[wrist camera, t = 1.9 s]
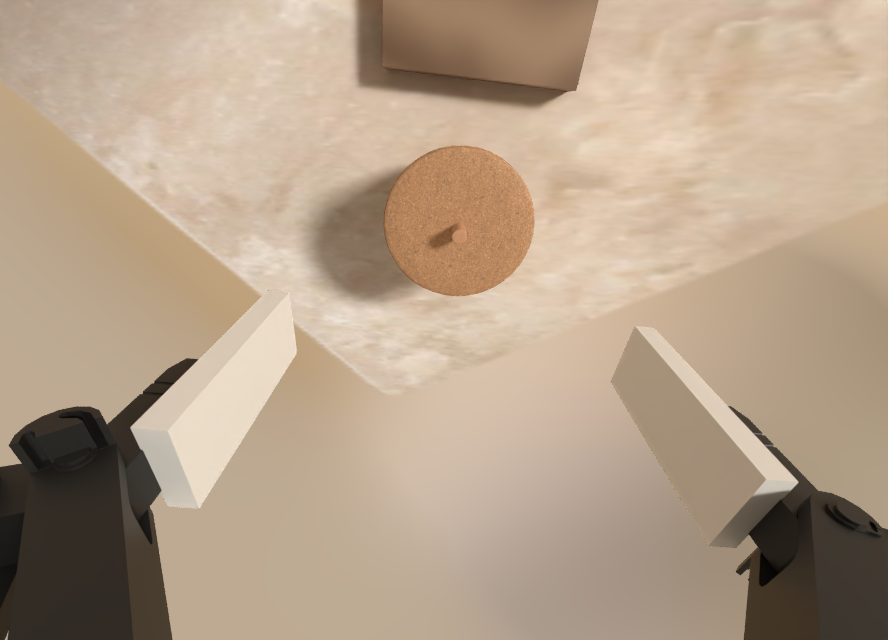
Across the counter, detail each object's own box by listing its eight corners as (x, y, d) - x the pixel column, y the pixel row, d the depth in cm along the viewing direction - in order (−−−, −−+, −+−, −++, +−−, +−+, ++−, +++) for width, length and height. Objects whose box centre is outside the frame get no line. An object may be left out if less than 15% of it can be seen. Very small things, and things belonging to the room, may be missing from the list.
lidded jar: (382, 236, 34) (361, 277, 26) (421, 114, 29) (409, 118, 21) (486, 276, 36) (496, 325, 28) (540, 168, 31) (571, 191, 22)
